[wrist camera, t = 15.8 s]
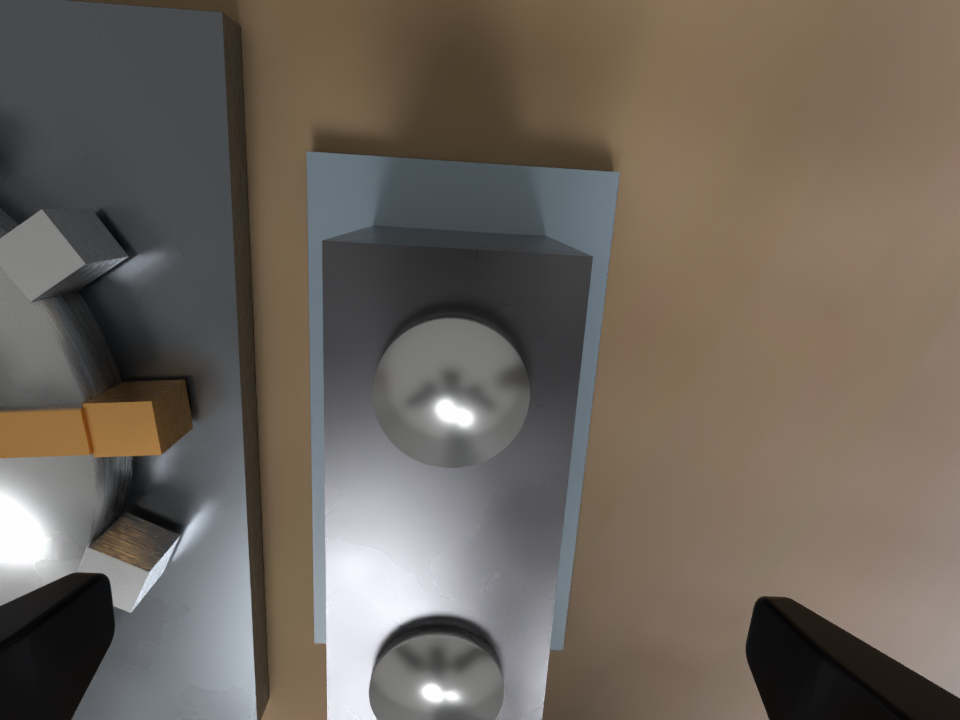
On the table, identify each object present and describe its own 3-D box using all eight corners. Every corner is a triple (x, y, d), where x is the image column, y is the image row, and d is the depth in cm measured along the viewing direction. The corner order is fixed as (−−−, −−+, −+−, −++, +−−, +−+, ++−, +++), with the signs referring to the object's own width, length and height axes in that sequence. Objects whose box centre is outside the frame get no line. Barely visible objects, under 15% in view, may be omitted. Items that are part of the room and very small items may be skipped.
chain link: (547, 236, 14) (598, 258, 8) (515, 604, 16) (539, 791, 11) (371, 225, 13) (315, 241, 8) (367, 599, 16) (323, 787, 11)
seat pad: (614, 173, 14) (619, 172, 13) (560, 637, 17) (562, 650, 17) (312, 153, 13) (306, 151, 13) (318, 630, 17) (314, 643, 16)
